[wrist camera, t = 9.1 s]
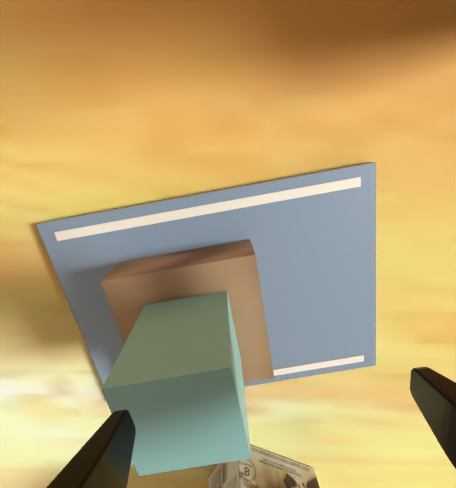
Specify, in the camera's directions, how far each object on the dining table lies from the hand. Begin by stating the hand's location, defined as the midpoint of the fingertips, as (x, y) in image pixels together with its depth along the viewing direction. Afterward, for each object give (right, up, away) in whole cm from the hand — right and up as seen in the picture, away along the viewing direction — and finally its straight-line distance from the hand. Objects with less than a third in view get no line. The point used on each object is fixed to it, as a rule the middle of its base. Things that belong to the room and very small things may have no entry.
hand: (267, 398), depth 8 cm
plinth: (-3, 0, +11) cm, 12 cm away
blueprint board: (-1, +1, +12) cm, 12 cm away
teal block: (-3, -1, +8) cm, 9 cm away
